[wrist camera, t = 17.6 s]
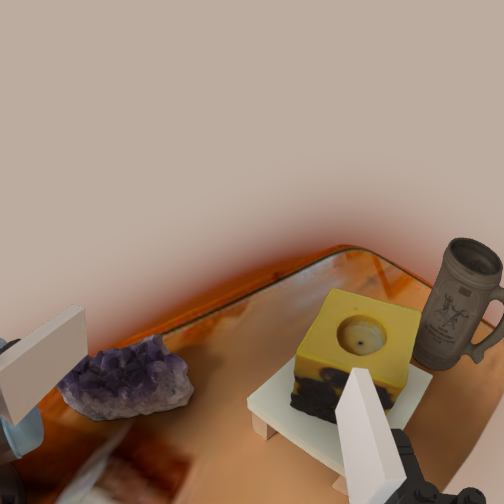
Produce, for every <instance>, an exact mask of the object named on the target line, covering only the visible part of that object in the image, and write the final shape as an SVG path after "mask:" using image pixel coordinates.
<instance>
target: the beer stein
mask: <svg viewBox="0 0 504 504" xmlns="http://www.w3.org/2000/svg"><path fill="white" fill-rule="evenodd" d="M502 270H503V266H502V262H501V260H500V258H499V257H498V256H497V254H496V253H495V252H493V251H492V250H491V249H490V248H489V247H487V246H485V245H484V244H482V243H480V242H478V241H475V240H473V239H468V238H455V239H453V240H452V241H451V242H450V243H449V245H448V247H447V248H446V250H445V252H444V255H443V262H442V266H441V269H440V271H439V274H438V277H437V279H436V282H435V284H434V286H433V289H432V291H431V293H430V295H429V297H428V300H427V302H426V304H425V307H424V309H423V311H422V313H421V319H420V324H419V328H418V331H417V335H416V338H415V343H414V346H415V349H414V351H413V354H412V355H413V357H414V358H415V359H416V360H417V361H418V362H419V363H420V364H422V365H424V366H425V367H427V368H429V369H433V370H446V369H449V368H451V367H453V366H454V365H455V364H456V363H457V362H458V360H459V359H460V356H461V355H462V354H467V355H470V356H471V357H472V359H473V361H474V362H475V364H477V363H479V362H480V361H481V360H482V359H483V358H484V355H483V354H484V351H485V350H487V349H488V348H490V347H491V346H493V345H495V344H496V343H498V342H499V341H500V340H501V339H502V338H503V337H504V314H503V316H502V319H501V320H500V322H499V324H498V325H497V327H496V328H495V329H494V330H493V332H492V333H491V334H490V335H488V336H487V337H486V338H485V339H484V340H483V341H481V342H480V343H478V344H475V345H473V344H472V343H471V339H472V337H473V335H474V333H475V331H476V329H477V327H478V325H479V323H480V321H481V319H482V317H483V315H484V313H485V311H486V309H487V307H488V305H489V302H490V301H492V300H495V299H497V300H499V301H500V302H502V303H503V304H504V288H502V287H500V286H499V283H500V281H501V275H502Z"/></svg>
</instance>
